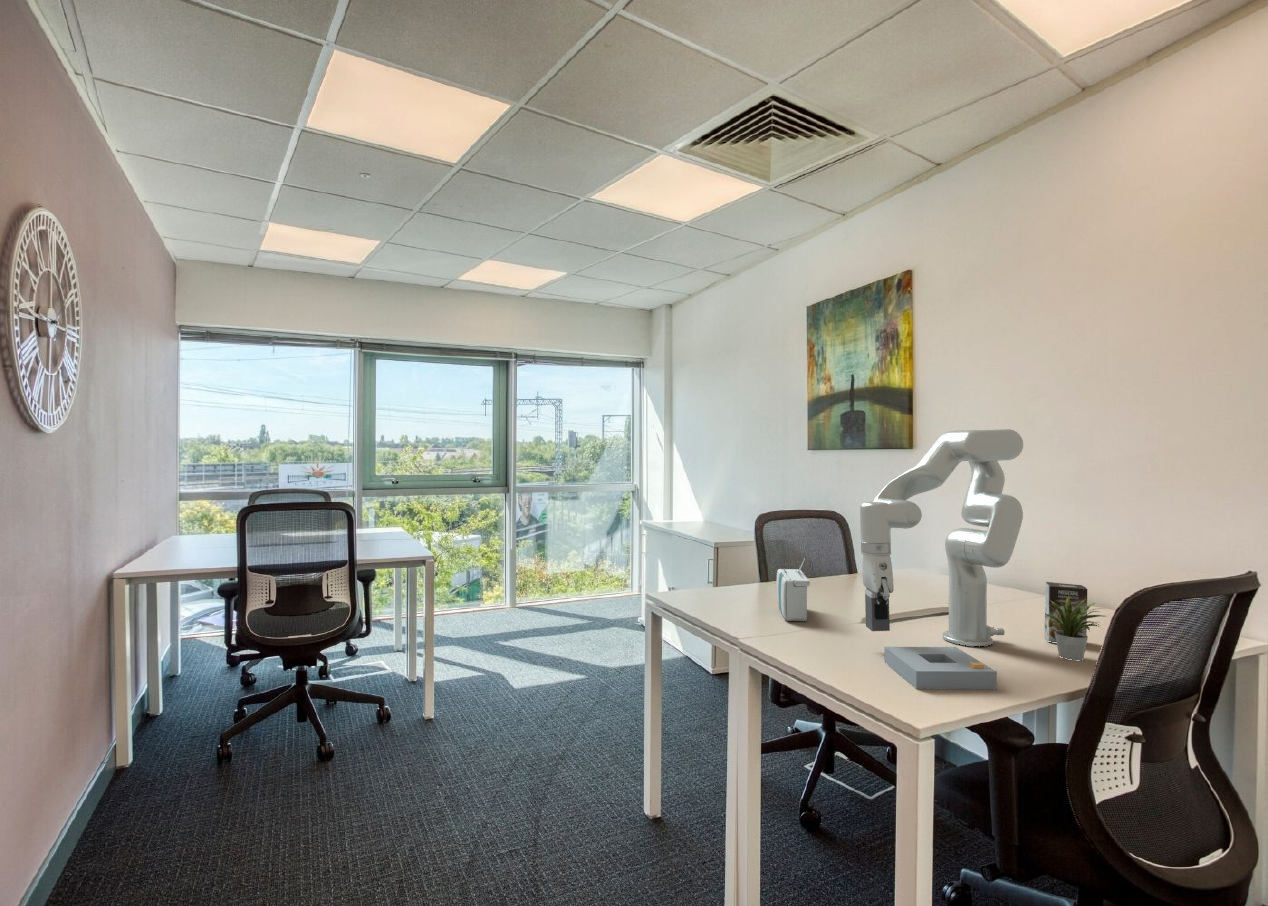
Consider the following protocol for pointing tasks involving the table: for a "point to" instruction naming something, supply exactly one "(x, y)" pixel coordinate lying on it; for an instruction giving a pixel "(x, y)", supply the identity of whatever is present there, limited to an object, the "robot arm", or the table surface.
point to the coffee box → (1061, 594)
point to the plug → (870, 613)
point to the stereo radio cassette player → (792, 593)
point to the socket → (940, 668)
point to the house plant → (1072, 629)
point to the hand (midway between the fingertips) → (877, 615)
